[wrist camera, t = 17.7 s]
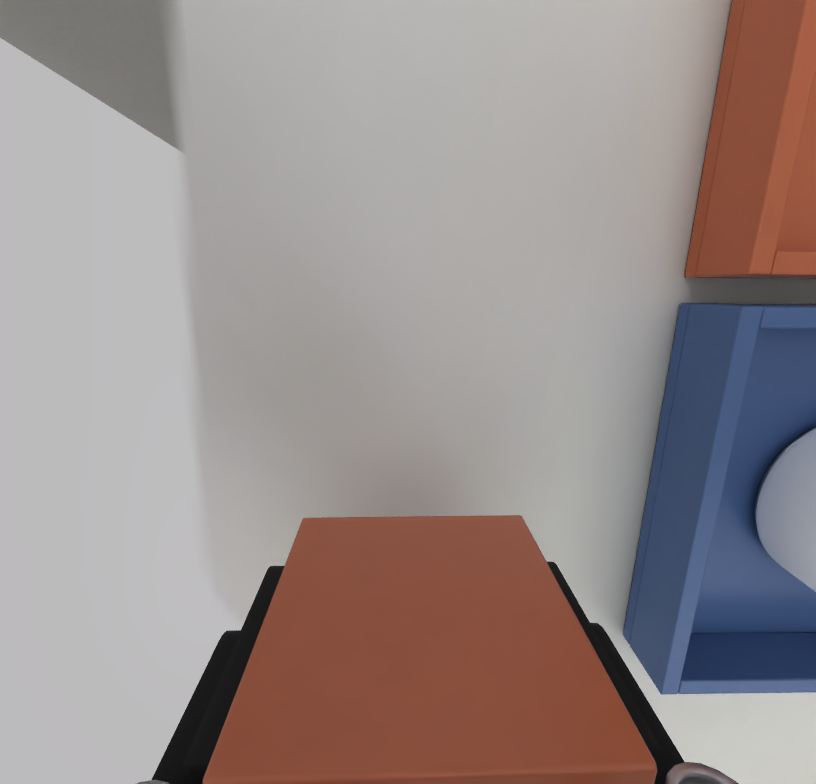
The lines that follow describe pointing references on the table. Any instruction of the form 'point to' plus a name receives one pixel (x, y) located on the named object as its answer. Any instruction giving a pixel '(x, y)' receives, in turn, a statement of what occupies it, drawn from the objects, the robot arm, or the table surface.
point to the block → (424, 666)
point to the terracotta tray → (761, 149)
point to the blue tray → (724, 507)
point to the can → (790, 508)
